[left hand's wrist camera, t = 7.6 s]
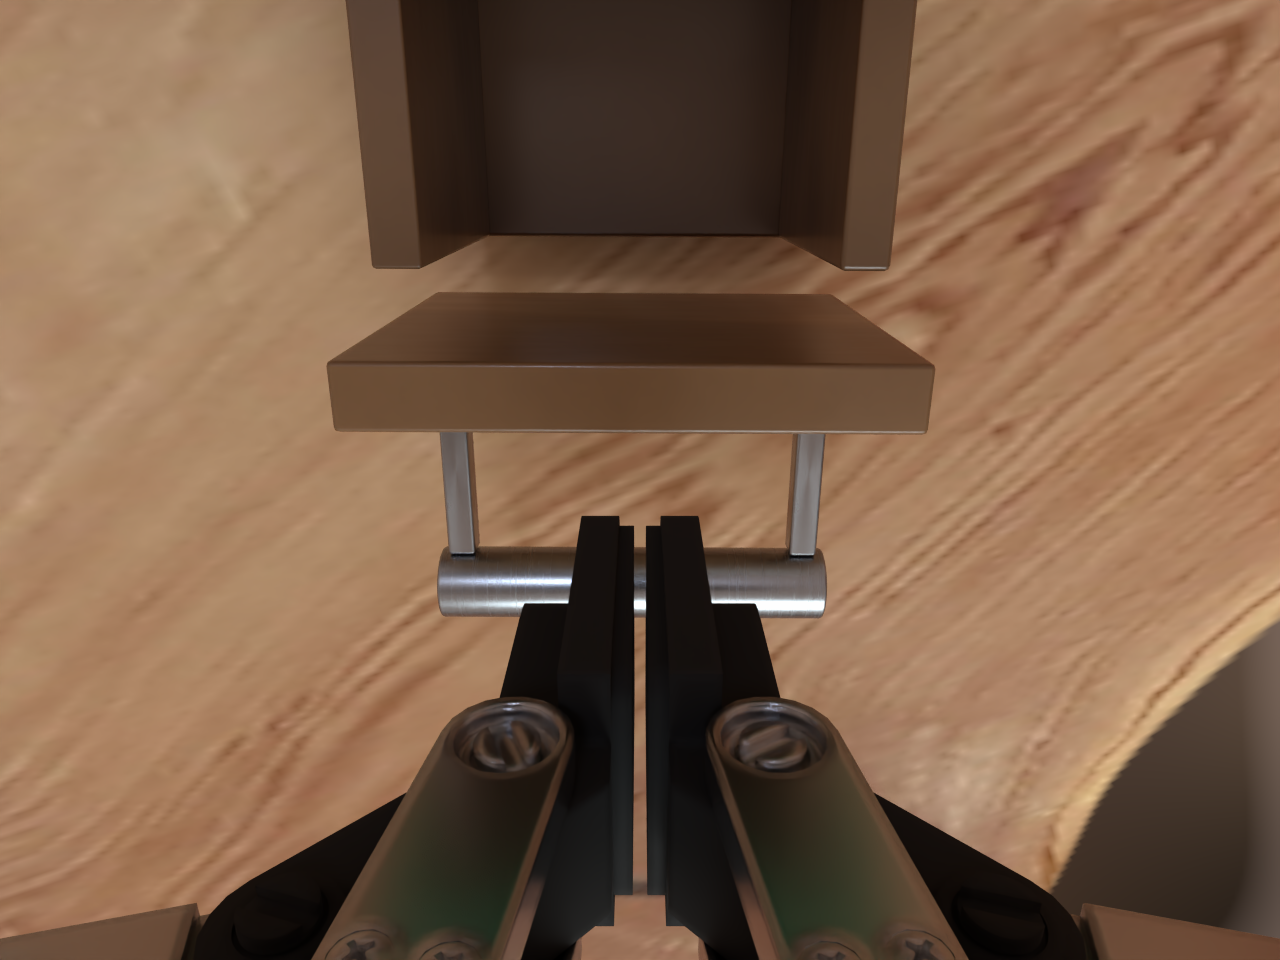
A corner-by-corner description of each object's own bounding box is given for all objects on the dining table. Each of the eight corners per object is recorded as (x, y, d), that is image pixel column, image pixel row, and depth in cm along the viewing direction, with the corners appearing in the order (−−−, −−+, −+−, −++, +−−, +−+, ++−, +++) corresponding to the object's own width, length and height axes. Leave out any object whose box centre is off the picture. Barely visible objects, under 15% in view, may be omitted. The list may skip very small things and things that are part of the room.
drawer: (812, 540, 24) (893, 716, 16) (454, 538, 24) (366, 714, 16) (886, -374, 17) (1084, -803, 9) (384, -376, 17) (180, -809, 9)
